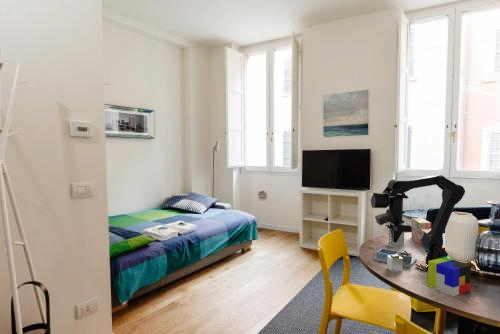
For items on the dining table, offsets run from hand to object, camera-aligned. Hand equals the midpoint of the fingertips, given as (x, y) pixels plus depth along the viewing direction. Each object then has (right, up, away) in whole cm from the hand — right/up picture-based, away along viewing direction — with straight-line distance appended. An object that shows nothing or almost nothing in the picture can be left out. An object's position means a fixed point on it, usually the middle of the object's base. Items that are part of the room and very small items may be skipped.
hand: (394, 242), depth 139 cm
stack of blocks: (+33, -10, +35) cm, 49 cm away
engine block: (0, -12, -1) cm, 12 cm away
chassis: (+5, -11, +11) cm, 16 cm away
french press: (+16, -10, +34) cm, 39 cm away
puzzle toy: (+12, -14, -19) cm, 26 cm away
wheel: (+7, -10, +6) cm, 13 cm away
